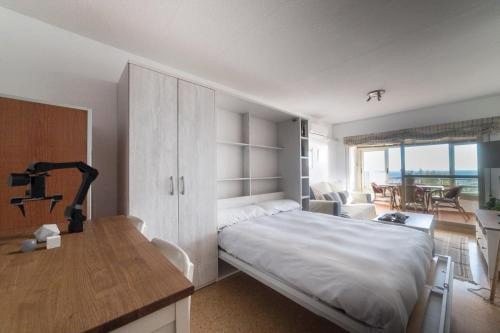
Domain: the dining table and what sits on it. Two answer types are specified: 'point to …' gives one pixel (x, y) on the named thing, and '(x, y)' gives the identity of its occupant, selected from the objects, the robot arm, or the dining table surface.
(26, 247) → the grey rounded piece
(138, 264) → the dining table surface
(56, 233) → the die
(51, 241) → the cream block
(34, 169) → the robot arm
